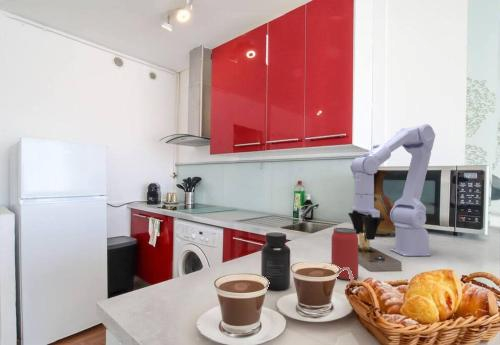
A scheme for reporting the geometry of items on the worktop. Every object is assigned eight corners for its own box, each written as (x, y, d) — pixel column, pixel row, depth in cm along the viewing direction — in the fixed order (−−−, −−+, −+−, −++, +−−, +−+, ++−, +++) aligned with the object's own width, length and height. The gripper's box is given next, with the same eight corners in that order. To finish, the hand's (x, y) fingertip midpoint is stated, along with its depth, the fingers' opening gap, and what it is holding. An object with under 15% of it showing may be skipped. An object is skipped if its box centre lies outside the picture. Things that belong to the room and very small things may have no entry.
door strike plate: (335, 248, 97) (335, 239, 97) (359, 248, 98) (359, 239, 98) (370, 271, 73) (370, 260, 73) (401, 270, 74) (401, 259, 74)
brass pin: (366, 256, 87) (366, 232, 87) (371, 259, 84) (371, 233, 84) (357, 256, 87) (357, 231, 87) (361, 259, 84) (361, 233, 84)
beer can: (355, 282, 65) (355, 233, 65) (328, 277, 68) (328, 230, 69) (360, 274, 70) (360, 229, 71) (335, 269, 74) (335, 226, 74)
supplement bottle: (266, 278, 68) (266, 230, 68) (293, 282, 65) (293, 232, 65) (256, 288, 61) (257, 235, 61) (286, 293, 59) (286, 238, 59)
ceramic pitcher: (404, 233, 126) (404, 169, 126) (391, 240, 111) (391, 168, 112) (362, 227, 139) (362, 170, 140) (345, 233, 125) (345, 168, 125)
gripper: (342, 192, 93) (342, 232, 92) (363, 195, 78) (363, 242, 78) (362, 192, 93) (362, 231, 93) (386, 195, 79) (386, 242, 79)
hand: (364, 236), depth 86 cm, fingers open, 7 cm apart
